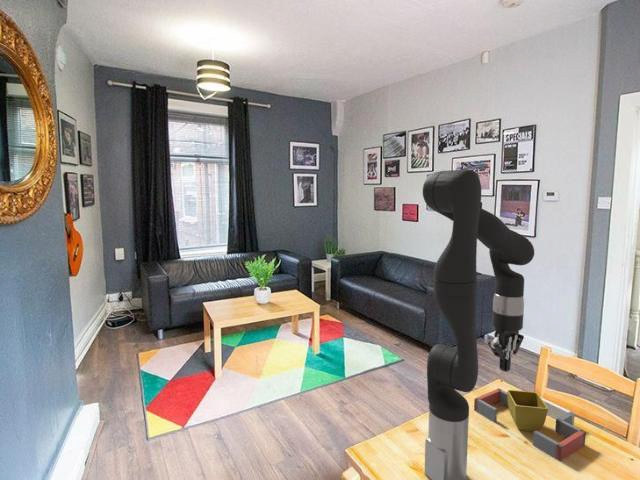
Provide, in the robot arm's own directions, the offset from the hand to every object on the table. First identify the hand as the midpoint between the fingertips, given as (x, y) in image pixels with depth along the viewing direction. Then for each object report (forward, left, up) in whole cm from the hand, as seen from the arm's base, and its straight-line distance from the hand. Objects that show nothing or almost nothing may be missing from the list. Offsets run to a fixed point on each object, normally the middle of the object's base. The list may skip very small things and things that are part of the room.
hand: (504, 370), depth 101 cm
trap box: (+15, 0, -21) cm, 26 cm away
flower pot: (+11, 0, -21) cm, 24 cm away
